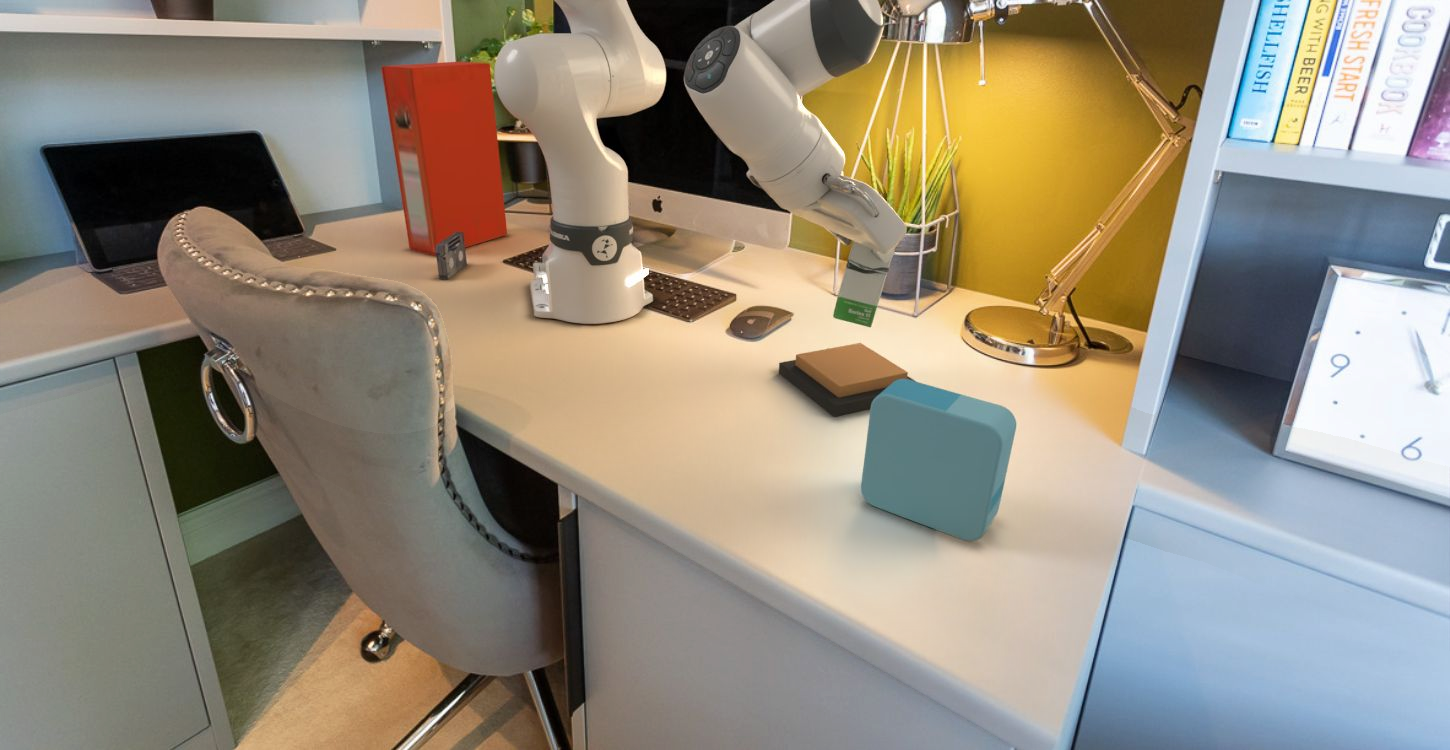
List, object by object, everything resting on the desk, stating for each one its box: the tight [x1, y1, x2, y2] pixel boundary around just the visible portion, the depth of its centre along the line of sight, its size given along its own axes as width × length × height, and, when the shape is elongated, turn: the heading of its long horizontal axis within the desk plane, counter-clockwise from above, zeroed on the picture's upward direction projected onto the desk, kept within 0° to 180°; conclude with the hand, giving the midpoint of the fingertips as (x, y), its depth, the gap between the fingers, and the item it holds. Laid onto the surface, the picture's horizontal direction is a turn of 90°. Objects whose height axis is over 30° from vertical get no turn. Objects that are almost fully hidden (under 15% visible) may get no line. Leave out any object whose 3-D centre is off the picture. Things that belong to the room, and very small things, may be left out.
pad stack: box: [778, 342, 917, 418], centre depth 98 cm, size 13×13×3 cm
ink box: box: [832, 240, 896, 328], centre depth 94 cm, size 9×5×12 cm, turn 167°
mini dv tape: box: [435, 232, 468, 280], centre depth 133 cm, size 8×2×6 cm, turn 175°
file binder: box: [380, 61, 508, 257], centre depth 144 cm, size 8×17×32 cm, turn 150°
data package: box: [860, 379, 1017, 542], centre depth 72 cm, size 12×4×12 cm, turn 56°
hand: (867, 247), depth 92 cm, fingers closed on ink box, 6 cm apart
